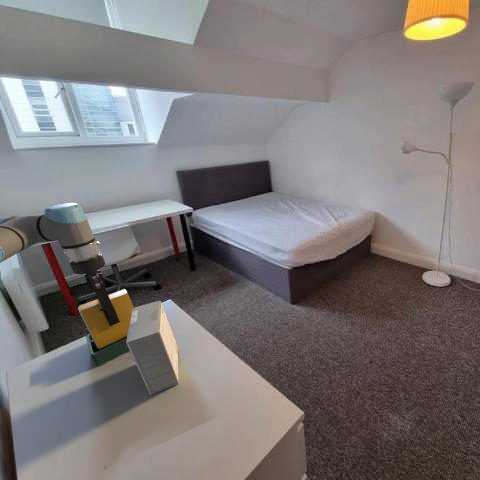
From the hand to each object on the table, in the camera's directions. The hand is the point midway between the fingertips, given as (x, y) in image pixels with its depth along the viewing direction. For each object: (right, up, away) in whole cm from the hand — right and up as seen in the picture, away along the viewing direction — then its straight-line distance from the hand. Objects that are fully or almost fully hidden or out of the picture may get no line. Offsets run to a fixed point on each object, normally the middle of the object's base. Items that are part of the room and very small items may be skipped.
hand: (113, 320), depth 87 cm
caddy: (-1, -9, +6) cm, 11 cm away
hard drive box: (+20, -14, -5) cm, 25 cm away
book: (0, -6, +3) cm, 7 cm away
